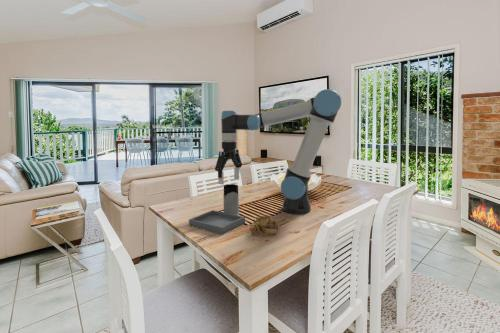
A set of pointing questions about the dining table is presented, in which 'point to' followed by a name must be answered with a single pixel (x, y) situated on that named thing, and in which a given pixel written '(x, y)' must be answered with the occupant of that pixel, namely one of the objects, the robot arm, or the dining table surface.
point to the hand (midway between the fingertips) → (229, 181)
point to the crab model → (263, 223)
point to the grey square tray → (217, 221)
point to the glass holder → (231, 199)
